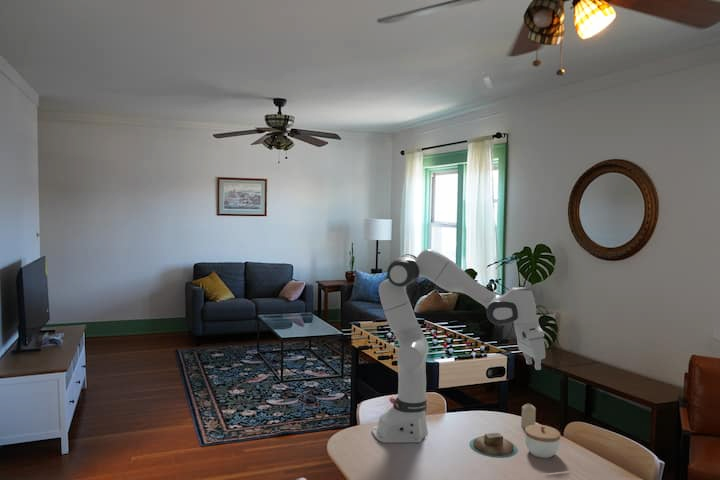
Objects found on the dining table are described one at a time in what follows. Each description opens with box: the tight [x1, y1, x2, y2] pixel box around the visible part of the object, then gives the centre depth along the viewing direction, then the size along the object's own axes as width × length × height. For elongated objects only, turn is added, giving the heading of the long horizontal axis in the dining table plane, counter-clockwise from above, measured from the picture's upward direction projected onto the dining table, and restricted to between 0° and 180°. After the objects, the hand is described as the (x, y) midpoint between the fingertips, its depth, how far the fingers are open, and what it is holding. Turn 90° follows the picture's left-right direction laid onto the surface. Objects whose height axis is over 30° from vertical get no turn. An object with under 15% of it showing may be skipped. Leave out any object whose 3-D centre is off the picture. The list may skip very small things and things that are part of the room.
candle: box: [520, 403, 537, 429], centre depth 233 cm, size 6×6×10 cm
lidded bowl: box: [524, 424, 561, 459], centre depth 209 cm, size 13×13×11 cm
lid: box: [473, 432, 515, 456], centre depth 213 cm, size 15×15×4 cm
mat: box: [469, 437, 519, 459], centre depth 213 cm, size 18×18×1 cm
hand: (533, 366), depth 208 cm, fingers open, 8 cm apart
